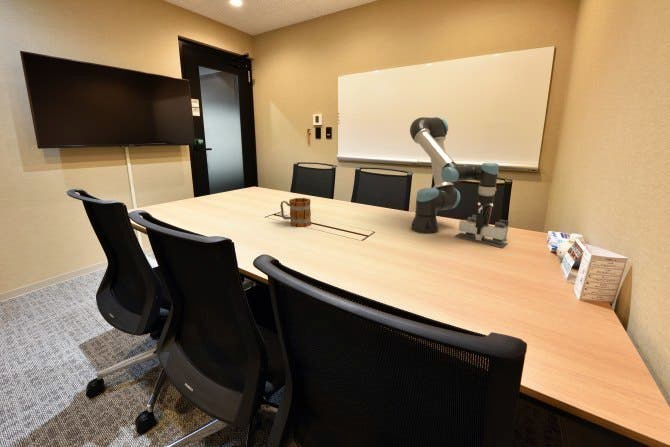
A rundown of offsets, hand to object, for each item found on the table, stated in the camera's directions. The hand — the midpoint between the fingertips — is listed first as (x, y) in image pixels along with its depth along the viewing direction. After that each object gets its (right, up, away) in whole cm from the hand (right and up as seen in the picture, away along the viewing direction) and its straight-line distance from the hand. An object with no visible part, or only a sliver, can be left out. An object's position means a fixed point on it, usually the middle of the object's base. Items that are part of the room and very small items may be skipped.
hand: (480, 238), depth 162 cm
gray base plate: (0, -1, 0) cm, 1 cm away
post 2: (+10, -1, +1) cm, 10 cm away
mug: (-99, +8, +30) cm, 104 cm away
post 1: (0, +2, +10) cm, 10 cm away
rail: (0, +2, -1) cm, 3 cm away
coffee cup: (+12, +6, +22) cm, 26 cm away
